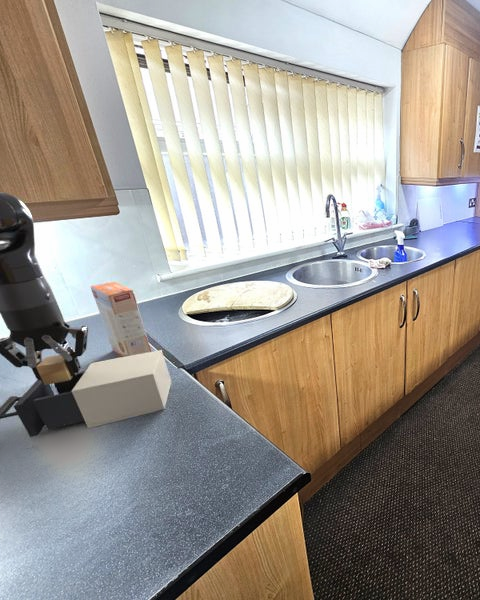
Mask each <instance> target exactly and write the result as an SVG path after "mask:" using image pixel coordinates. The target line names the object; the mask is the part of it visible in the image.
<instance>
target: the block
mask: <svg viewBox="0 0 480 600" xmlns="http://www.w3.org/2000/svg"><path fill="white" fill-rule="evenodd" d="M65 362H66V360H64V358H63V357H62V356H61V355H60V354H57V355H52V356H46V357H44V358H42V361H41V362H40V363H39V364H38V365H37V367H36V368H37V370H38V372H39V374H40V376H41V378H42V380H43V382H44V384H45V385H48V384H50V385H54V383H58V382H63V381H68V380H71V378H72V377H73V376H71V374H70V372H69V370H68V368H67V365H66V363H65Z"/></svg>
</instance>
